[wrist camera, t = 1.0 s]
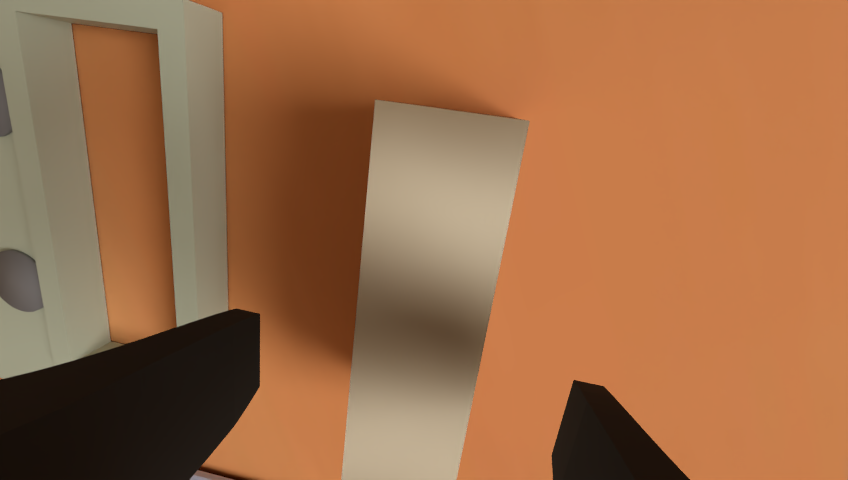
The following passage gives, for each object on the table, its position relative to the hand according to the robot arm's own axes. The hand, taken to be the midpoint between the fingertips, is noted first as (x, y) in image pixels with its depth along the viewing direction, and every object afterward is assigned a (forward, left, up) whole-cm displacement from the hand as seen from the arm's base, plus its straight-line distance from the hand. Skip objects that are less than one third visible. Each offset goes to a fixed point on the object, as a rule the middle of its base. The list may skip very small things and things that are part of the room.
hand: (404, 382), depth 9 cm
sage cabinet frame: (0, +17, -8) cm, 19 cm away
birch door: (0, 0, -8) cm, 8 cm away
